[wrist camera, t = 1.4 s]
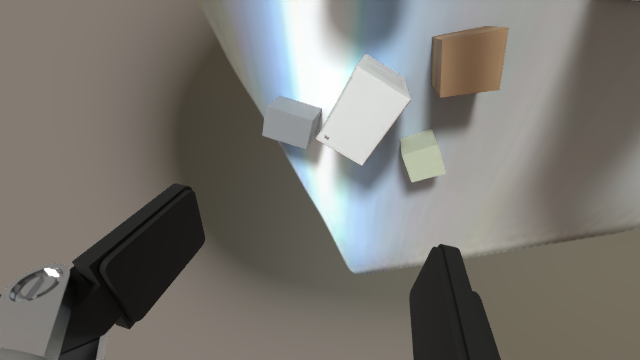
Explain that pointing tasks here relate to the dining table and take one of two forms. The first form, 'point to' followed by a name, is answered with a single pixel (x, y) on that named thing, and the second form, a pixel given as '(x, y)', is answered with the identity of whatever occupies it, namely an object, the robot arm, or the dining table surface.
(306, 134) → the slate block
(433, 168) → the sage block
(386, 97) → the small box
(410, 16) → the dining table surface
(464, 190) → the dining table surface
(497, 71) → the walnut block
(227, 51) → the dining table surface
